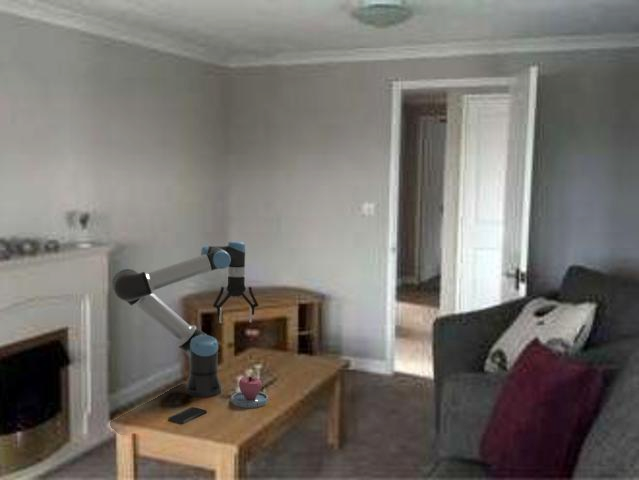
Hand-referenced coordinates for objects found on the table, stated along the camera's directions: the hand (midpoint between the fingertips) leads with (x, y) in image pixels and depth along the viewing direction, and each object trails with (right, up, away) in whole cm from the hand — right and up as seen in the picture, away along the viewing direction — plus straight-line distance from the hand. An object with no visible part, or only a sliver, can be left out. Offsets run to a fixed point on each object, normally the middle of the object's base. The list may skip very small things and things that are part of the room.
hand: (235, 322), depth 306 cm
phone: (-13, -32, -44) cm, 56 cm away
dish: (+9, -30, -26) cm, 40 cm away
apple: (+9, -29, -26) cm, 40 cm away
